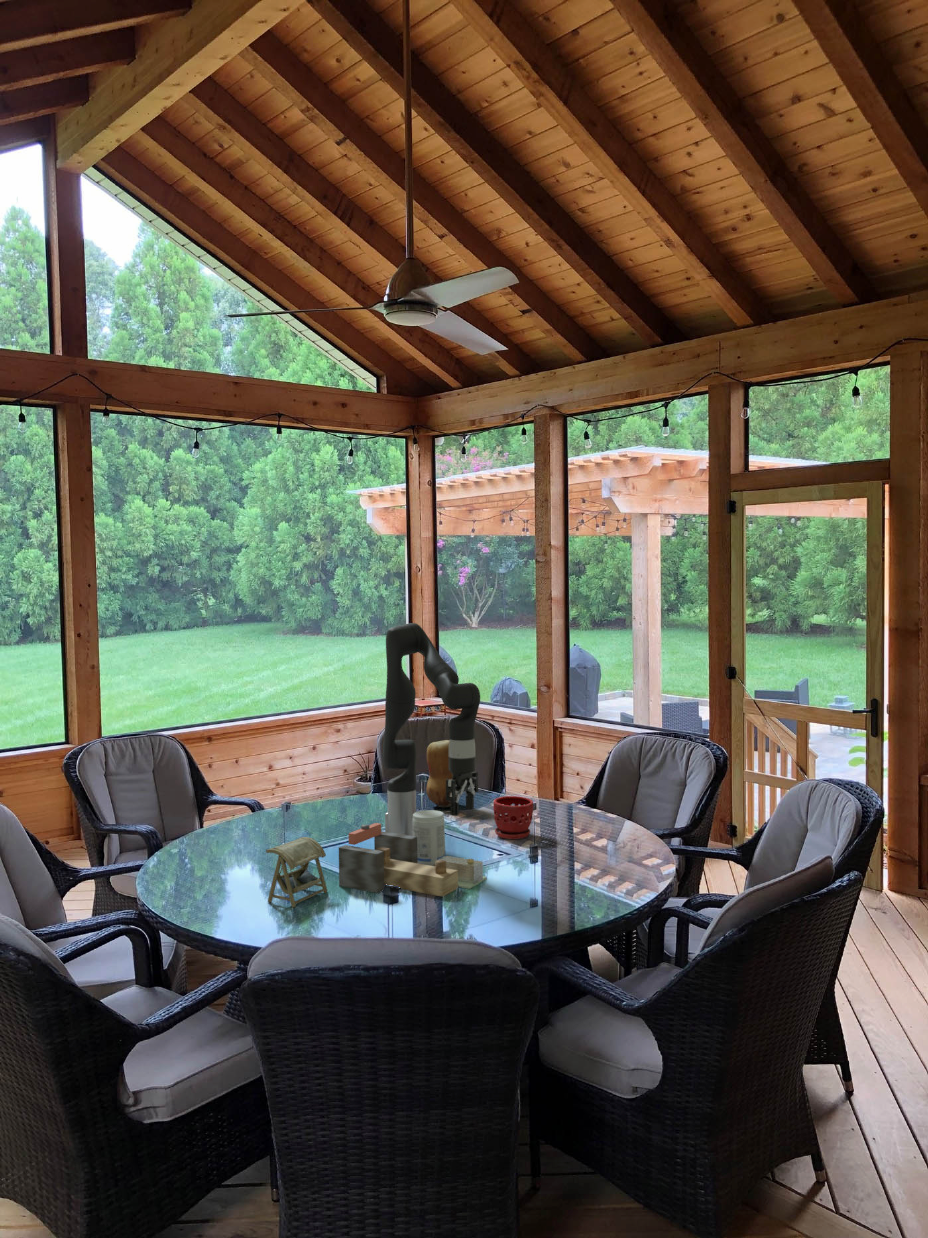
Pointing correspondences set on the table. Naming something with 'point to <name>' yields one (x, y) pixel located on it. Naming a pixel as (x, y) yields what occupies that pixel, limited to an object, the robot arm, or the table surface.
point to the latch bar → (364, 833)
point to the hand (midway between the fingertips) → (462, 812)
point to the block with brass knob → (465, 868)
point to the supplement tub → (429, 836)
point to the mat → (468, 885)
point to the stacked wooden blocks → (393, 867)
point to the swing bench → (301, 878)
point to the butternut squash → (438, 772)
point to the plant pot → (513, 816)
